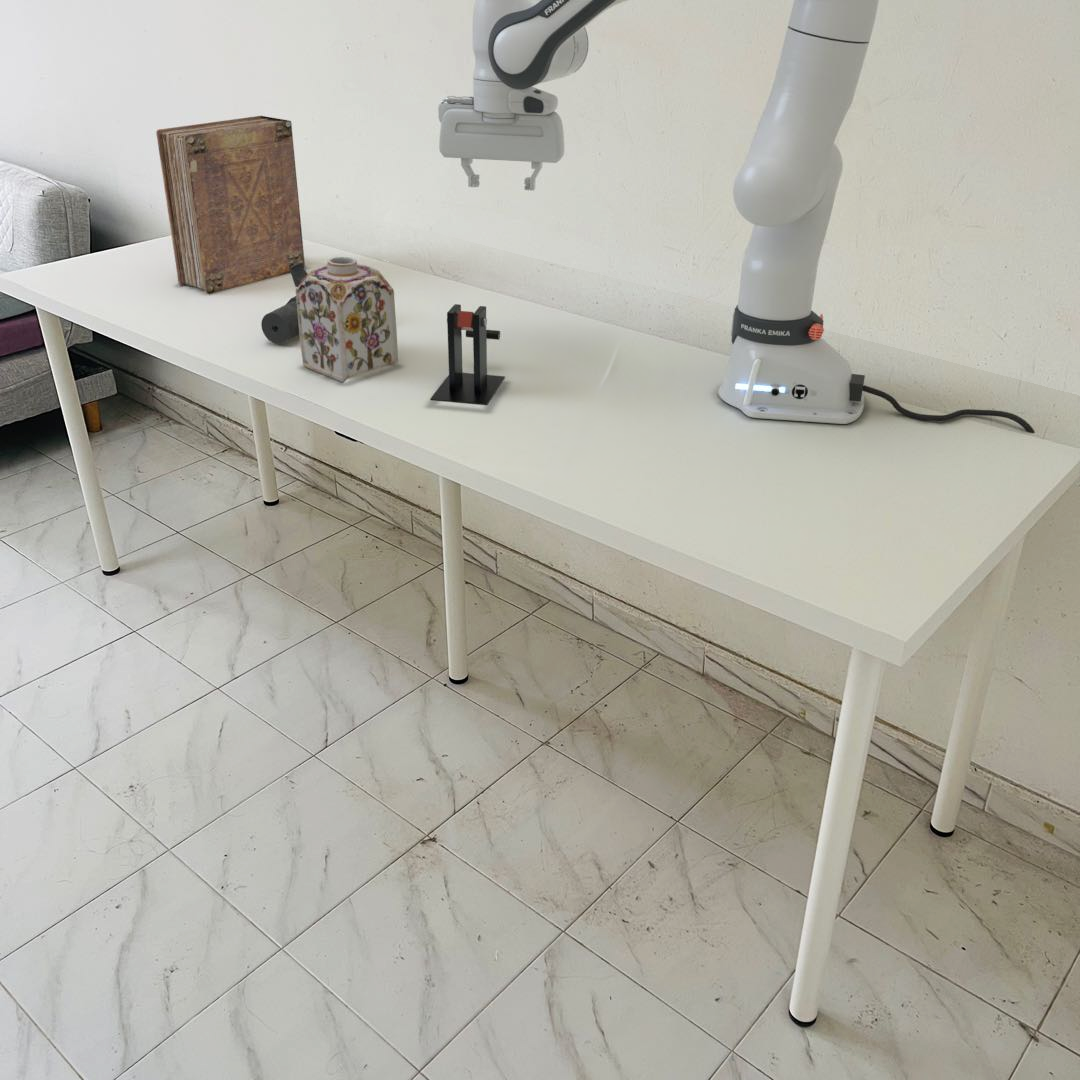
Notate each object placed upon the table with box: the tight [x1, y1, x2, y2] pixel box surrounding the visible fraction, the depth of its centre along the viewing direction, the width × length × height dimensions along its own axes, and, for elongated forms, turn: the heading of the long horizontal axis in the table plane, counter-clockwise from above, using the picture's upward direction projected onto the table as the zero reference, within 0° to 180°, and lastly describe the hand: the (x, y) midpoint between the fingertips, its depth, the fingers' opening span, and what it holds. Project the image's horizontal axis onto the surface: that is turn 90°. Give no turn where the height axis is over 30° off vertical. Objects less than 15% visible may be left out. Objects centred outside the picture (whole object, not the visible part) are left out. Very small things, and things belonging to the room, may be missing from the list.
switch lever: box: [457, 310, 501, 341], centre depth 172 cm, size 13×6×2 cm
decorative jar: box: [295, 256, 399, 383], centre depth 178 cm, size 12×12×18 cm
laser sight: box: [260, 262, 308, 345], centre depth 198 cm, size 10×22×10 cm, turn 158°
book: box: [155, 115, 306, 295], centre depth 220 cm, size 25×9×30 cm, turn 141°
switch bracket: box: [429, 303, 506, 406], centre depth 169 cm, size 12×9×14 cm
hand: (501, 188), depth 179 cm, fingers open, 8 cm apart
